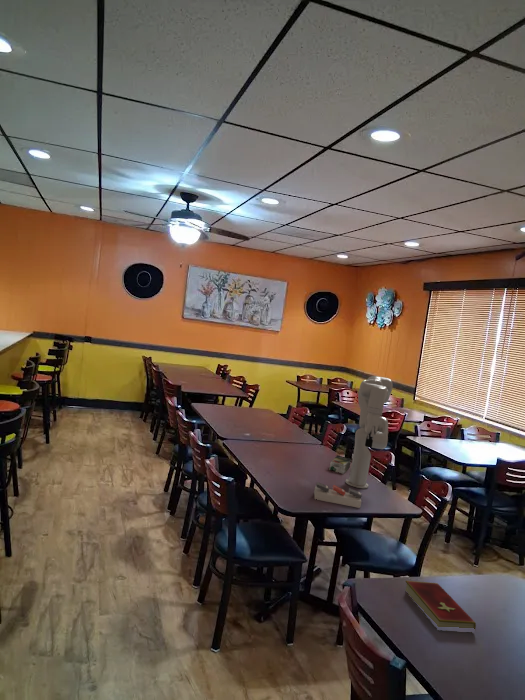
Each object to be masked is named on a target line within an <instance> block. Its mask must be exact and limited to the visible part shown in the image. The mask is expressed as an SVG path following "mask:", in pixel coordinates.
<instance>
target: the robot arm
mask: <svg viewBox="0 0 525 700" xmlns="http://www.w3.org/2000/svg"><path fill="white" fill-rule="evenodd" d="M393 384H394V383H393V381H392V380H391V379H390V378H388V377H382V376H377V375H376V376H375V375H371V376H369V377H368V378H367V379H365V380H362V381H361V383H360V385H359V389H358V394H357V398H358V399H357V400H358V405H359V409H360V413H359V420H358V421H359V422H358V424H359V428H358V429H357V430H356V431H355V435H354V436H355V437H354V447H353V448H354V449H353V455H352V459H351V464H350V470H349V471H350V472H349V478H346V479H345V483H346V484H347V485H348V486H351V487H352V488H357V489H368V488H369V483H367V480H368V474H369V470H370V463H371V459H372V454H371V452H370V450H369V448H372V449H377V450H385V449H386V448H387V446H388V441H389V438H388V436H389V422H388V419H387V418H386V417H384V416H382V415H383V411H384V406H385V404H387V403H388V401H389V399H390V397H391V393H392V391H393V387H394V385H393Z"/></svg>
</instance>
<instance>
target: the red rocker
mask: <svg viewBox="0 0 525 700" xmlns="http://www.w3.org/2000/svg"><path fill="white" fill-rule="evenodd" d="M332 490H334V491H336V492H338V493H340V494H342V495H345V492H346V490H345V489H343V488H341V487H339V486H338V485H336V484H333V485H332Z"/></svg>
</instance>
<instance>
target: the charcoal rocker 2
mask: <svg viewBox="0 0 525 700" xmlns="http://www.w3.org/2000/svg"><path fill="white" fill-rule="evenodd" d="M347 492H348V493H349V494H352V495H354V496H357V497H359V498H361V499H362V497H363V496H362V492H360V491H358V490H355V489H353V488H351V487H348V491H347Z"/></svg>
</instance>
